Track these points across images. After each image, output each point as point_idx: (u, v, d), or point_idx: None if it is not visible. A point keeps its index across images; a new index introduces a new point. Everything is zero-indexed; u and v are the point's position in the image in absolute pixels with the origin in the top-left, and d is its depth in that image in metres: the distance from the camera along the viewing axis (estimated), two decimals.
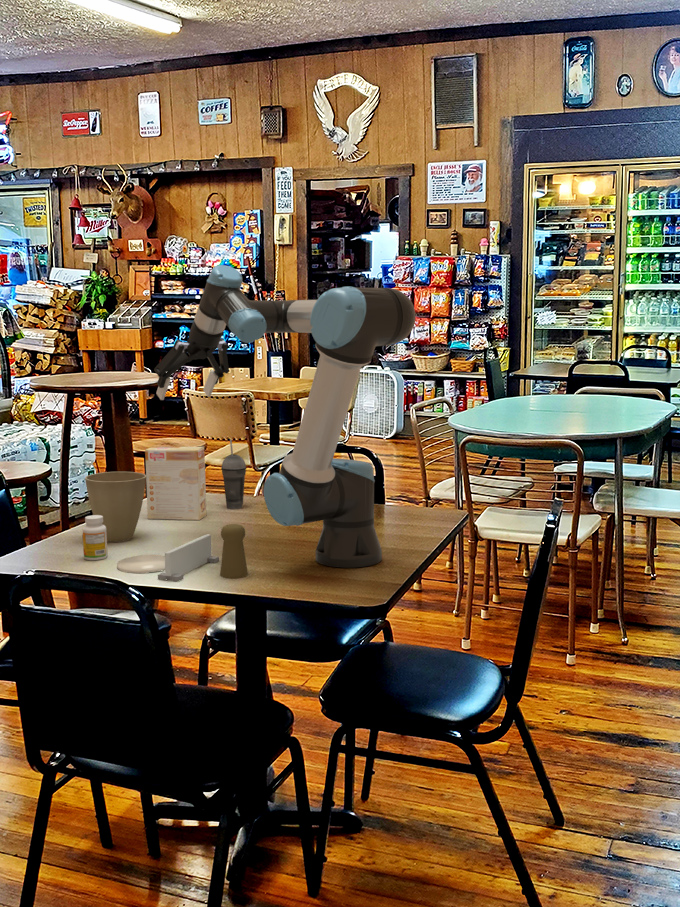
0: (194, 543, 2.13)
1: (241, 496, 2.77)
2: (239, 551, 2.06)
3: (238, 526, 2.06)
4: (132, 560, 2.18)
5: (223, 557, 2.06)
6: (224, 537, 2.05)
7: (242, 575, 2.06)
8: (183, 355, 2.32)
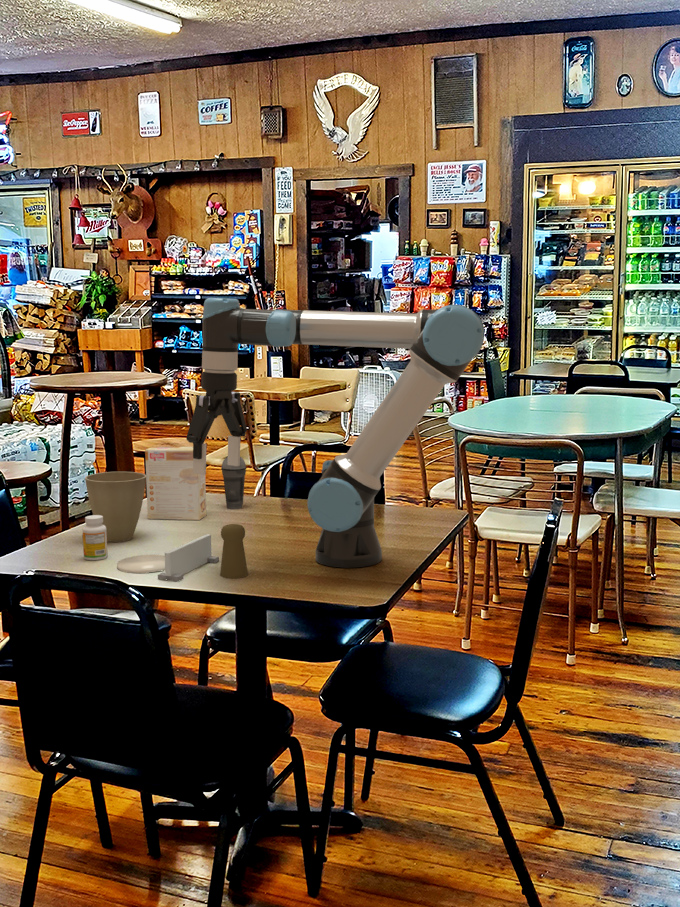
0: (194, 543, 2.13)
1: (241, 496, 2.77)
2: (239, 551, 2.06)
3: (238, 526, 2.06)
4: (132, 560, 2.18)
5: (223, 557, 2.06)
6: (224, 537, 2.05)
7: (242, 575, 2.06)
8: (208, 413, 2.03)
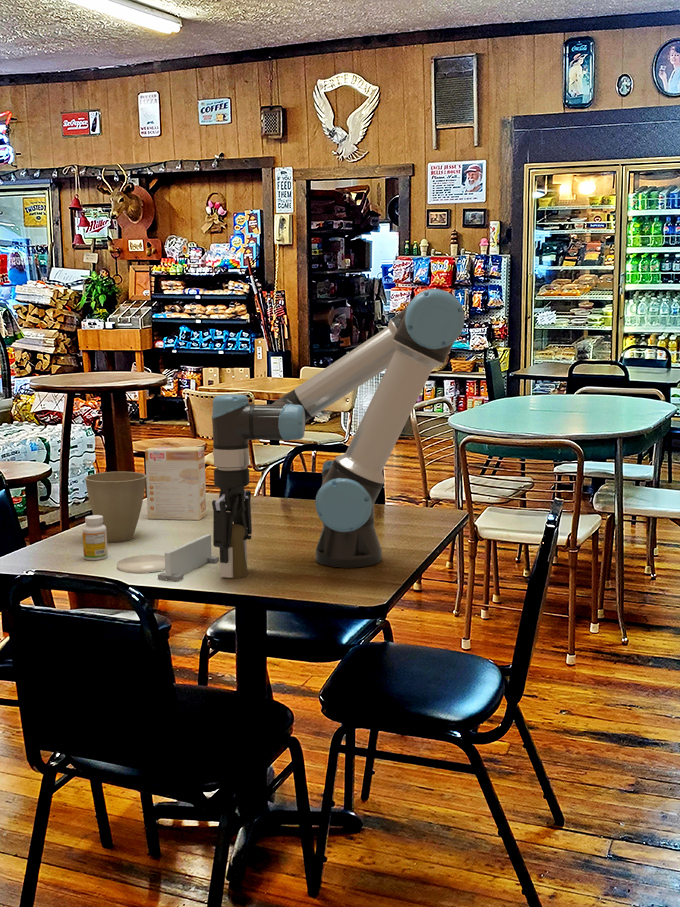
0: (194, 543, 2.13)
1: None
2: (239, 551, 2.06)
3: (238, 526, 2.06)
4: (132, 560, 2.18)
5: None
6: None
7: (242, 575, 2.06)
8: (226, 514, 2.04)
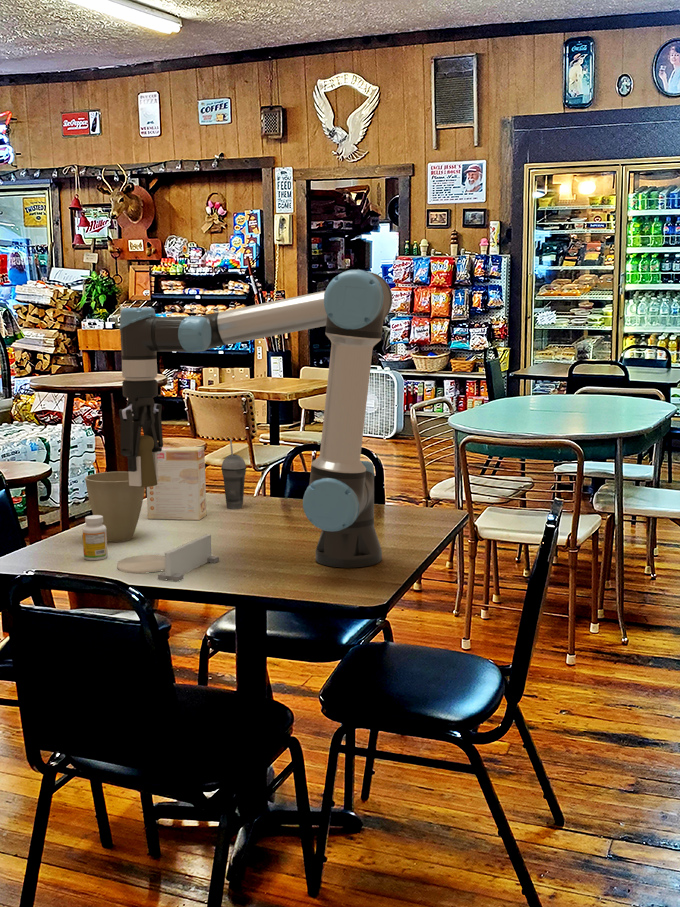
0: (194, 543, 2.13)
1: (241, 496, 2.77)
2: (147, 460, 2.11)
3: (147, 436, 2.11)
4: (132, 560, 2.18)
5: None
6: None
7: (151, 484, 2.12)
8: (134, 424, 2.09)
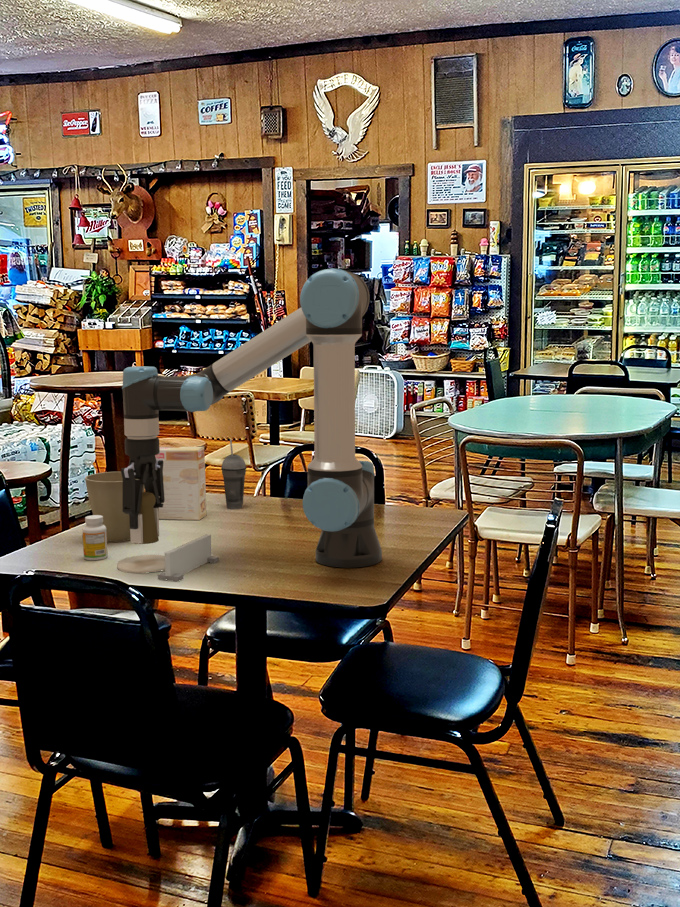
0: (194, 543, 2.13)
1: (241, 496, 2.77)
2: (149, 517, 2.13)
3: (148, 494, 2.13)
4: (132, 560, 2.18)
5: None
6: None
7: (152, 541, 2.13)
8: (135, 482, 2.11)
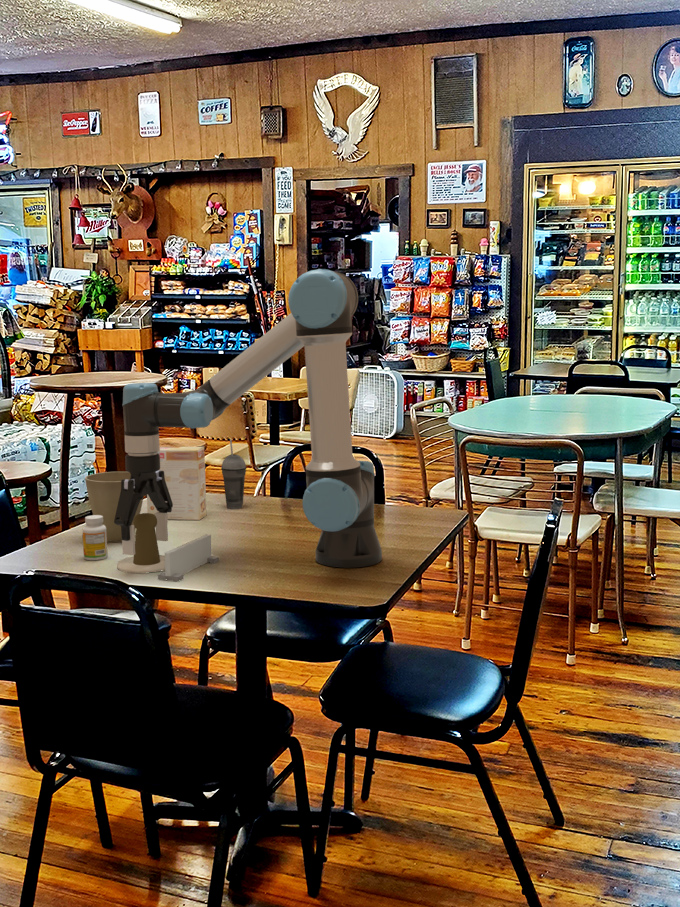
0: (194, 543, 2.13)
1: (241, 496, 2.77)
2: (150, 539, 2.14)
3: (150, 515, 2.14)
4: (132, 560, 2.18)
5: (135, 545, 2.14)
6: (136, 525, 2.13)
7: (154, 562, 2.14)
8: (133, 495, 2.10)
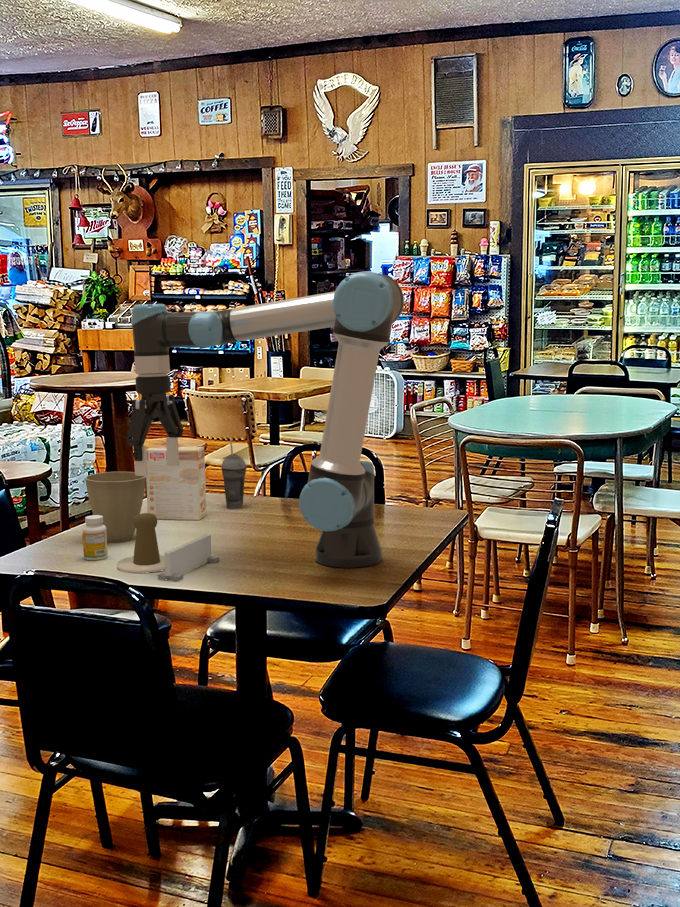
0: (194, 543, 2.13)
1: (241, 496, 2.77)
2: (150, 539, 2.14)
3: (150, 515, 2.14)
4: (132, 560, 2.18)
5: (135, 545, 2.14)
6: (136, 525, 2.13)
7: (153, 562, 2.14)
8: (145, 416, 2.09)
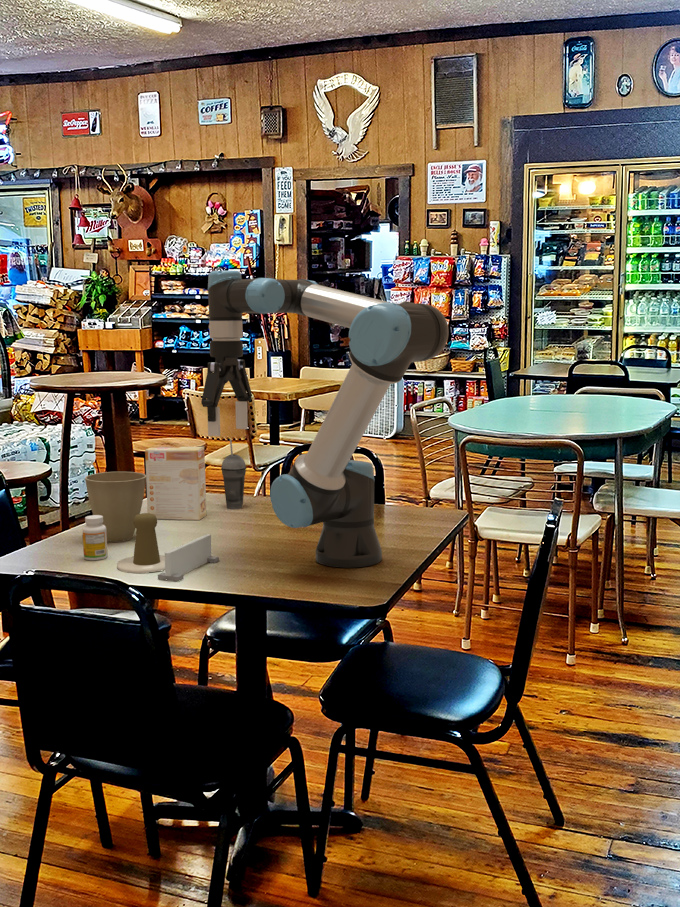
0: (194, 543, 2.13)
1: (241, 496, 2.77)
2: (150, 539, 2.14)
3: (150, 515, 2.14)
4: (132, 560, 2.18)
5: (135, 545, 2.14)
6: (136, 525, 2.13)
7: (153, 562, 2.14)
8: (218, 379, 2.17)
